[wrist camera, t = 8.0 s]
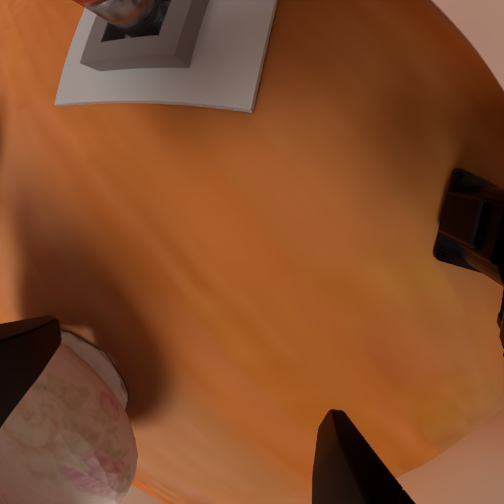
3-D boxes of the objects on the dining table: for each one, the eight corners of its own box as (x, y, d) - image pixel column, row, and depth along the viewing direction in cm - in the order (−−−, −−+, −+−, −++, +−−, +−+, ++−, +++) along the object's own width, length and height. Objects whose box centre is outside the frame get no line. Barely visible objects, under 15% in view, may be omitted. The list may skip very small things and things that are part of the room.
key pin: (180, 7, 14) (127, -55, 6) (168, 43, 15) (103, -11, 7) (141, 11, 14) (79, -39, 6) (128, 46, 15) (56, 5, 7)
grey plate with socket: (284, -26, 13) (282, -53, 10) (252, 113, 16) (244, 99, 13) (101, -11, 14) (80, -26, 11) (62, 106, 17) (33, 101, 14)
